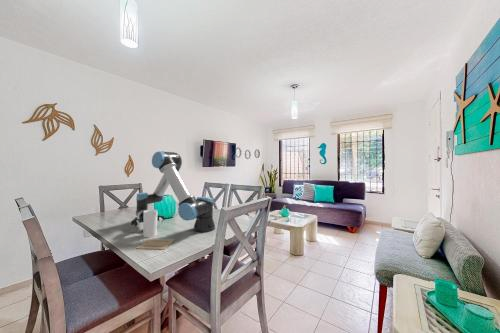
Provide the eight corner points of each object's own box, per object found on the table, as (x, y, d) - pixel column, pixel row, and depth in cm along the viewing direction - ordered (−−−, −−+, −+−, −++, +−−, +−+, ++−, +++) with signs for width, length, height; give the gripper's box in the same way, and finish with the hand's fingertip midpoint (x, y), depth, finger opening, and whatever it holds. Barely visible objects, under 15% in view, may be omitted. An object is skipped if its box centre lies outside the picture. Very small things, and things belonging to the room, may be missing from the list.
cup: (146, 233, 133) (146, 209, 133) (159, 232, 134) (159, 209, 133) (141, 237, 125) (141, 212, 124) (154, 237, 125) (154, 212, 125)
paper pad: (174, 240, 121) (174, 239, 121) (164, 249, 108) (164, 248, 108) (148, 239, 122) (148, 238, 122) (136, 248, 109) (136, 247, 109)
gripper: (162, 218, 152) (170, 225, 135) (124, 224, 136) (128, 233, 120) (162, 208, 152) (170, 214, 135) (124, 213, 136) (128, 220, 119)
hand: (151, 223), depth 127 cm, fingers open, 13 cm apart
